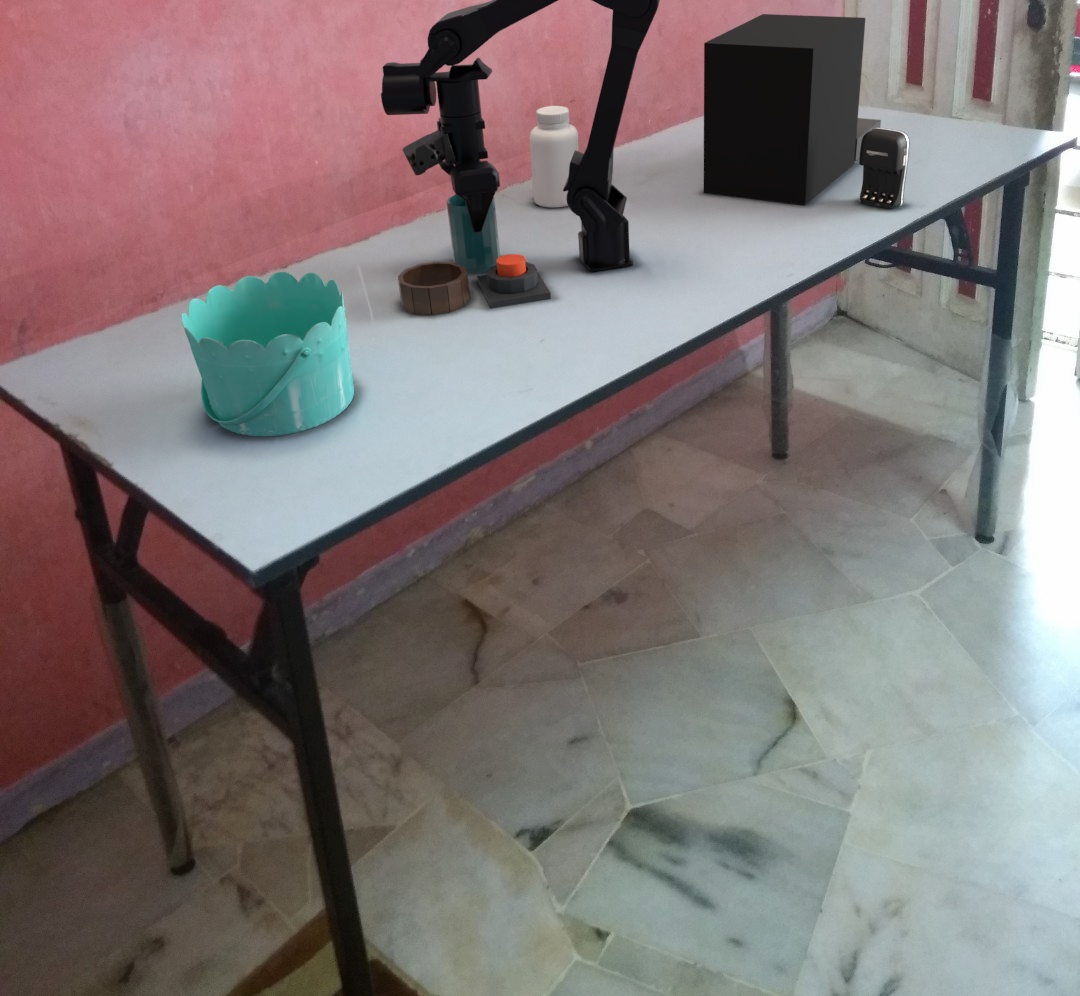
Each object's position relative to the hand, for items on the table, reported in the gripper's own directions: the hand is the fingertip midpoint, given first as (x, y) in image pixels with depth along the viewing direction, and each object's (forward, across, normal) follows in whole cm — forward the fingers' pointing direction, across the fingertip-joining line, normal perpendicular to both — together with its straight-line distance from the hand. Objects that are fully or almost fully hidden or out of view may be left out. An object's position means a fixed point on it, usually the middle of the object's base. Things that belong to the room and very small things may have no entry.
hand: (472, 221), depth 167 cm
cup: (+7, 0, 0) cm, 7 cm away
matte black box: (+7, -22, +60) cm, 64 cm away
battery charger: (+7, +1, +64) cm, 64 cm away
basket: (+7, +35, -30) cm, 47 cm away
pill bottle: (+7, -23, +18) cm, 30 cm away
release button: (+4, +12, +3) cm, 13 cm away
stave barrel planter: (+7, +12, -8) cm, 15 cm away
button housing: (+7, +12, +3) cm, 14 cm away
